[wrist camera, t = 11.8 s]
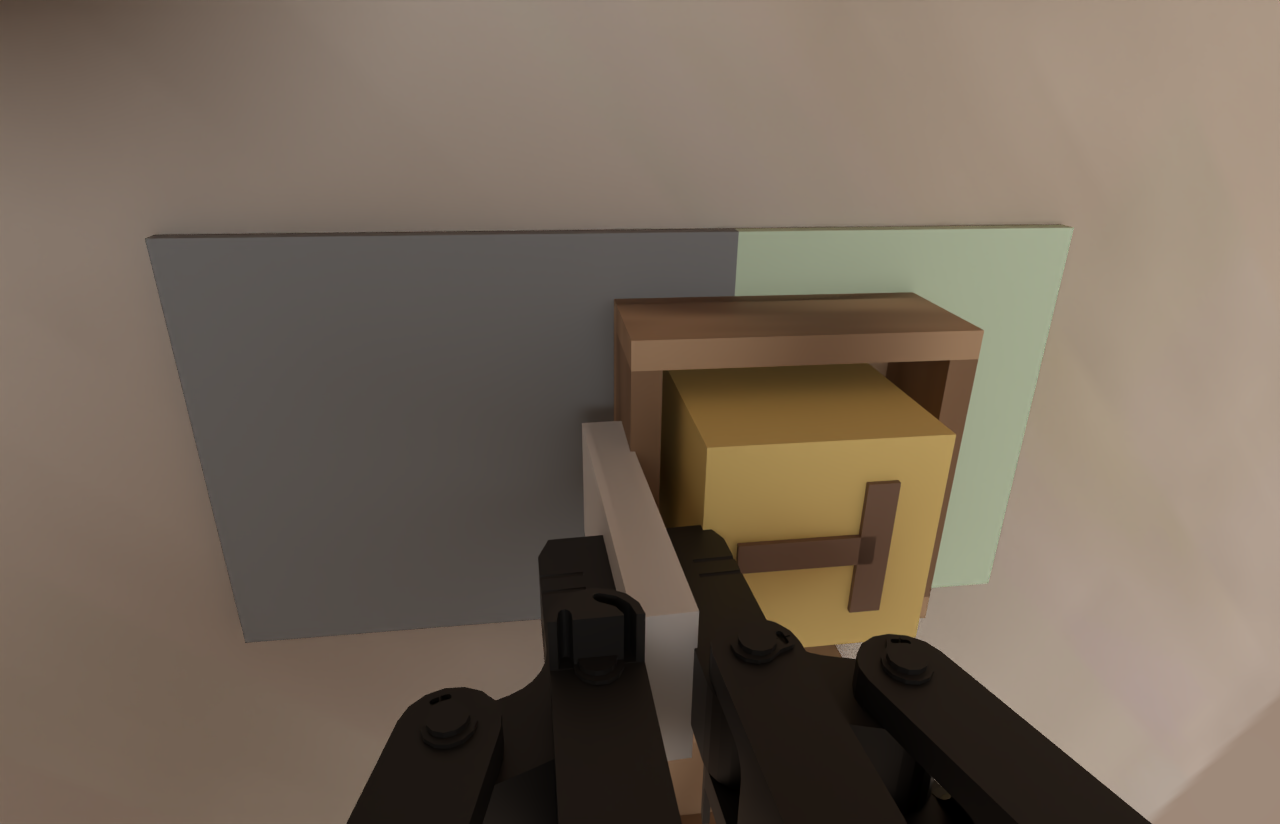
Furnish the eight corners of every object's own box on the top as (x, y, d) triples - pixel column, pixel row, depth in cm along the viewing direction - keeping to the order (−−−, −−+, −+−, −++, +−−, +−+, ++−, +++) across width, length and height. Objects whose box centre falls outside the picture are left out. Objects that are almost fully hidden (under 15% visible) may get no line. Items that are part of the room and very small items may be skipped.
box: (614, 563, 19) (628, 642, 17) (614, 298, 16) (631, 340, 14) (870, 545, 20) (924, 617, 17) (912, 292, 17) (984, 330, 15)
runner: (251, 632, 19) (245, 642, 19) (154, 234, 15) (144, 238, 15) (980, 574, 22) (987, 583, 21) (1062, 224, 18) (1073, 227, 17)
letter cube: (657, 530, 18) (696, 661, 14) (662, 358, 17) (708, 450, 12) (831, 519, 19) (918, 641, 15) (853, 351, 17) (959, 437, 13)
